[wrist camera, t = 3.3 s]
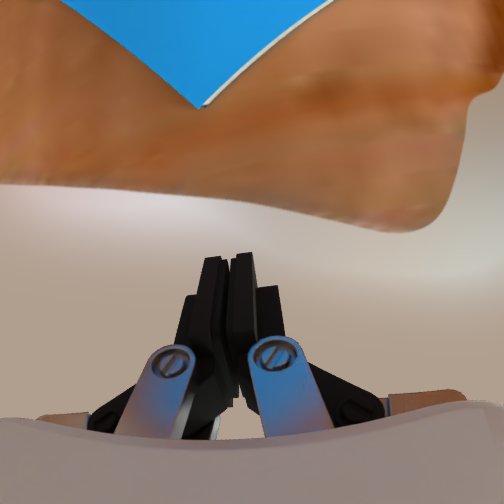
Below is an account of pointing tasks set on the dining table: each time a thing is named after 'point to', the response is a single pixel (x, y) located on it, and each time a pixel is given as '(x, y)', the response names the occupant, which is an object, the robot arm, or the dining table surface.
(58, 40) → the dining table surface
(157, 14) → the book
